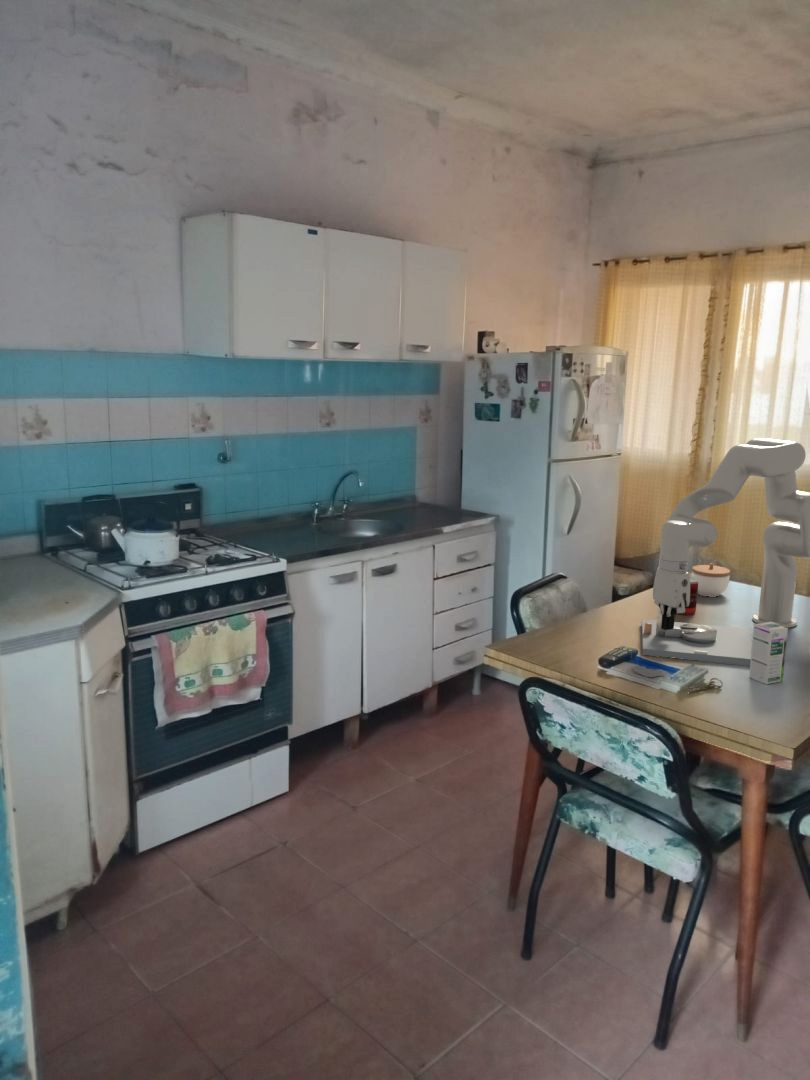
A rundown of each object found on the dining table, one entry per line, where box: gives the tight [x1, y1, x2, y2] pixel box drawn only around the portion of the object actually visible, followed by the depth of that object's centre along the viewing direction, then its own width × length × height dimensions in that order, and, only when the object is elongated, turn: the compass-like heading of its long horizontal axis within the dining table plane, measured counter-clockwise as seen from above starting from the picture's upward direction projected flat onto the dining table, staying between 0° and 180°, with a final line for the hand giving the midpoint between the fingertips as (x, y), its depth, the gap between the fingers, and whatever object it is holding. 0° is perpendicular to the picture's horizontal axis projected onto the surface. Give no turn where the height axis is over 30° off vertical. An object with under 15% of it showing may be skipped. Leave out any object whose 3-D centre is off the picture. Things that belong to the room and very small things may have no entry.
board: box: [641, 618, 753, 667], centre depth 234 cm, size 28×30×5 cm
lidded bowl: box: [691, 562, 731, 598], centre depth 286 cm, size 13×13×11 cm
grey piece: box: [656, 608, 717, 643], centre depth 234 cm, size 16×10×8 cm, turn 80°
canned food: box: [672, 576, 698, 616], centre depth 265 cm, size 8×8×11 cm
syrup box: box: [749, 621, 789, 685], centre depth 208 cm, size 6×6×14 cm
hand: (667, 628), depth 231 cm, fingers closed
